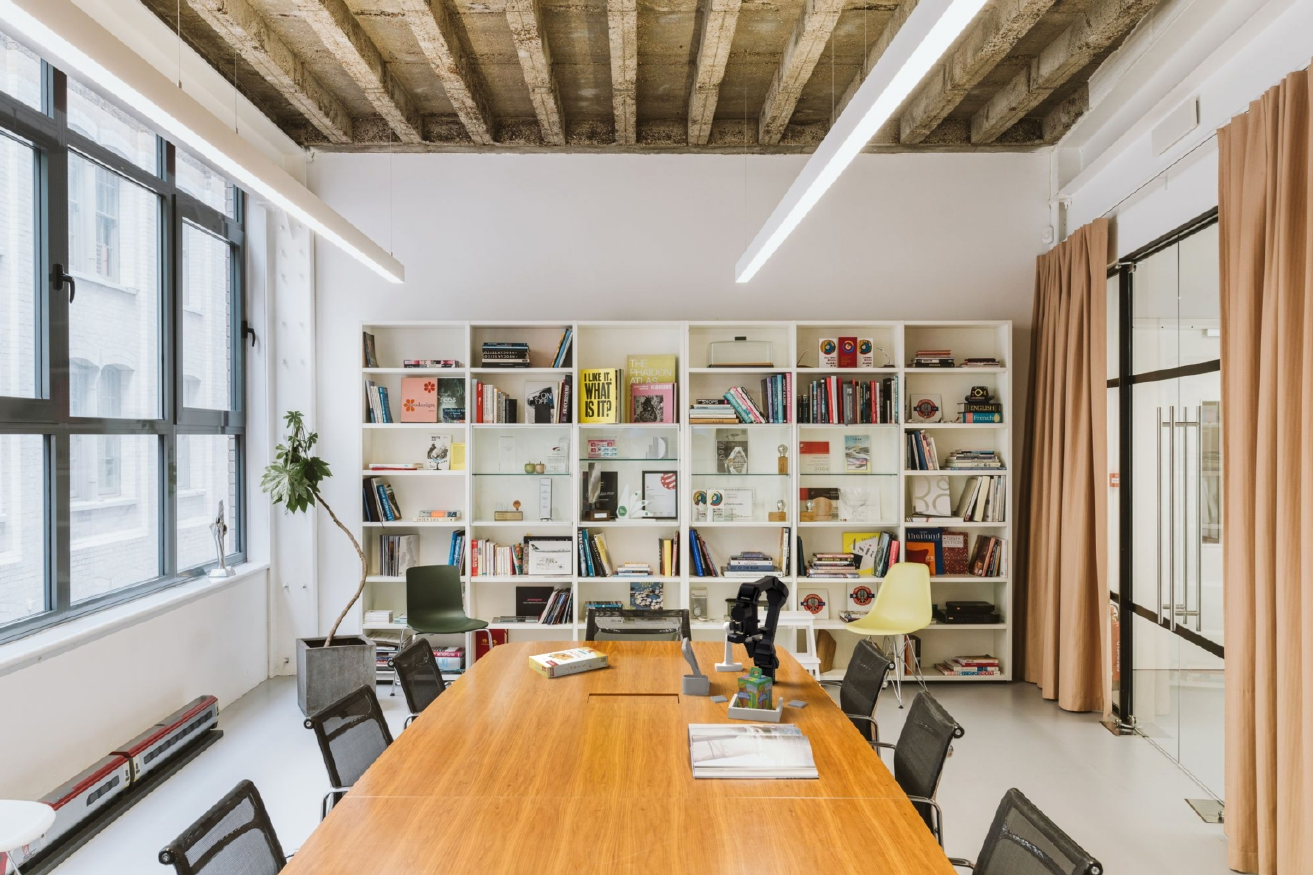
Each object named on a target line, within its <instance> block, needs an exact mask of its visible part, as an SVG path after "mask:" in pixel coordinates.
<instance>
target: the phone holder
mask: <svg viewBox="0 0 1313 875" xmlns="http://www.w3.org/2000/svg"><path fill="white" fill-rule="evenodd" d="M681 651H682V654H683V657H684V660H686V662H687V664H688V665H689V666H690V668H691V670H692V674H684V675H682V677H681V679H682V680H681V681H682V682H681V683H682V684H681V686H682V690H681V691H682V692H681V693H682V695H684V696H709V695H710V687H711V685H710V684H711V680H710V679H709V676H708V675H706V674H703V673H702V672H701V669H700V666H699V663H698V661H697V658H696V655H695V652H694V650H693V647H692V644H691V642H690V638H689V637H688V636H687V637H684V638H683V640H682V644H681Z"/></svg>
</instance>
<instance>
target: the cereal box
mask: <svg viewBox="0 0 1313 875" xmlns="http://www.w3.org/2000/svg"><path fill="white" fill-rule="evenodd" d="M528 667H529V668H530V669H532V670H534V671H535V672H536V673H538V674H540V675H542V676H543V677H545V678H546V679H551V678H556V677H561V676H565V675H572V674H575V673H581V672H586V671H590V670H596V669H600V668H601V669H602V668H606V667H609V655H608V653H604V652H602V651H599V650H597V649H594V648H592V647H590V646H581V647H577V648H576V647H575V648H572V649H571V648H570V649H566V650H560V651H553V652H548V653H542V654H537V655H532V656H530V655H529V656H528Z"/></svg>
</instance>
